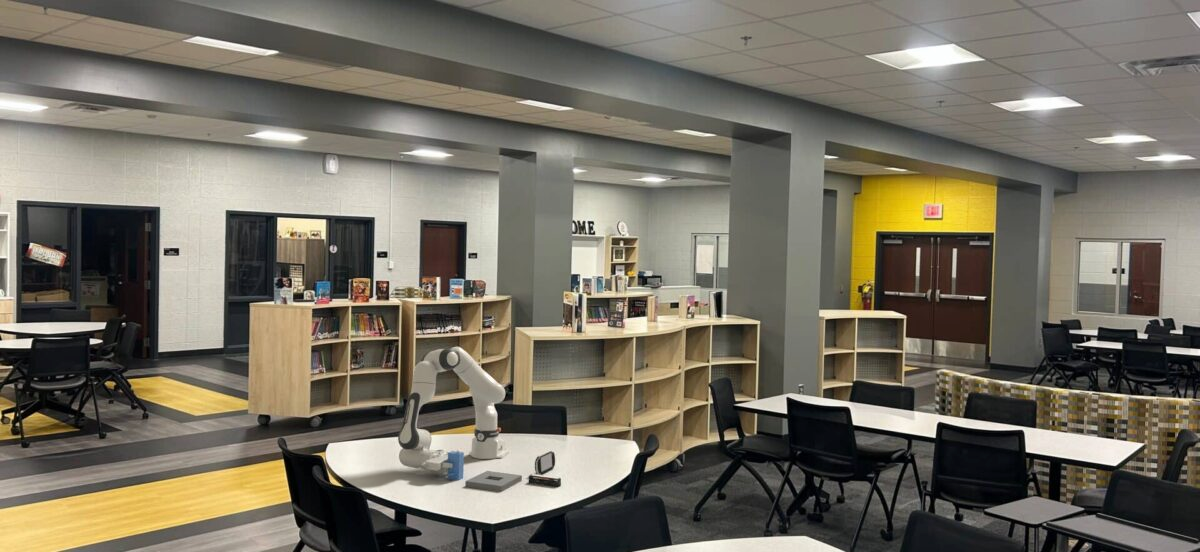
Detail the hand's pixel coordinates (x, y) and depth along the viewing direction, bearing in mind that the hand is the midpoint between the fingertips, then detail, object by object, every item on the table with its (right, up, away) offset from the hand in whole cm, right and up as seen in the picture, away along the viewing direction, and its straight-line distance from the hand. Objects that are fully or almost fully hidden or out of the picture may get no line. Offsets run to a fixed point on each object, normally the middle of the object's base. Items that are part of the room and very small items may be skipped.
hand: (457, 463), depth 380 cm
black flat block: (+42, -9, -7) cm, 44 cm away
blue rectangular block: (-1, -7, 0) cm, 7 cm away
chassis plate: (+18, -8, -7) cm, 20 cm away
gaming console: (+39, -8, +16) cm, 43 cm away
